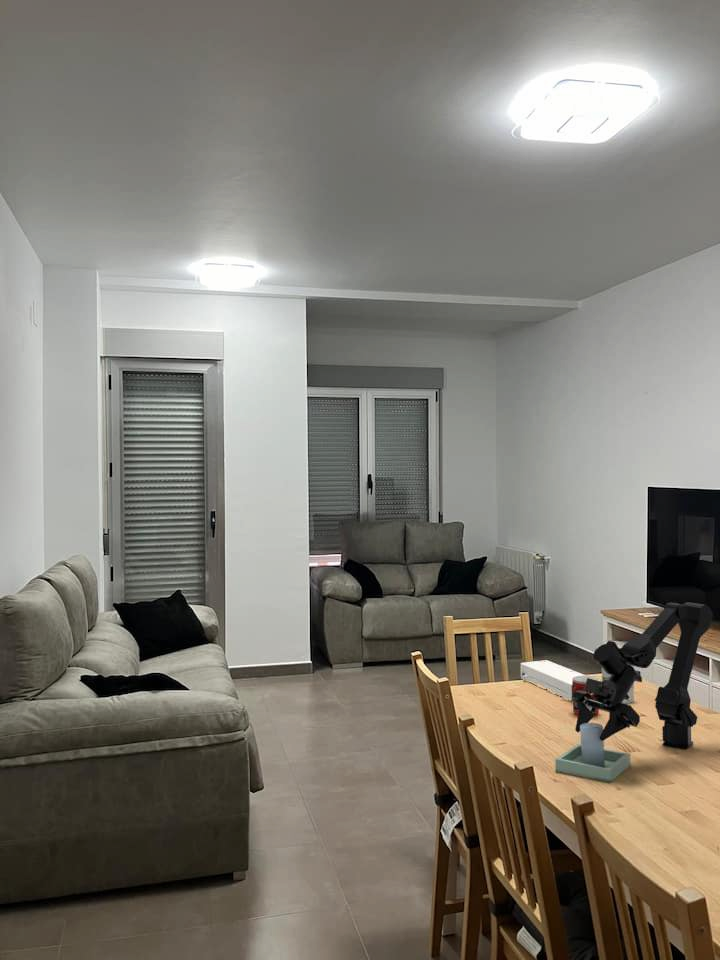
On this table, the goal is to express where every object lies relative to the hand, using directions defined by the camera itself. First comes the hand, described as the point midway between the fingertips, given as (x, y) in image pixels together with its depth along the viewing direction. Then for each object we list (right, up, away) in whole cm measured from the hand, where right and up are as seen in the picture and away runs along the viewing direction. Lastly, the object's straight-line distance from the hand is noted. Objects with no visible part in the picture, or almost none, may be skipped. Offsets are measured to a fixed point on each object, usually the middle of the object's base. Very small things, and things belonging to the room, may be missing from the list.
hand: (588, 735), depth 211 cm
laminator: (+11, -8, +78) cm, 79 cm away
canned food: (+12, -8, +47) cm, 50 cm away
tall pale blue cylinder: (+1, -8, +1) cm, 8 cm away
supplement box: (+26, -8, +61) cm, 66 cm away
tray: (+1, -9, +1) cm, 9 cm away
